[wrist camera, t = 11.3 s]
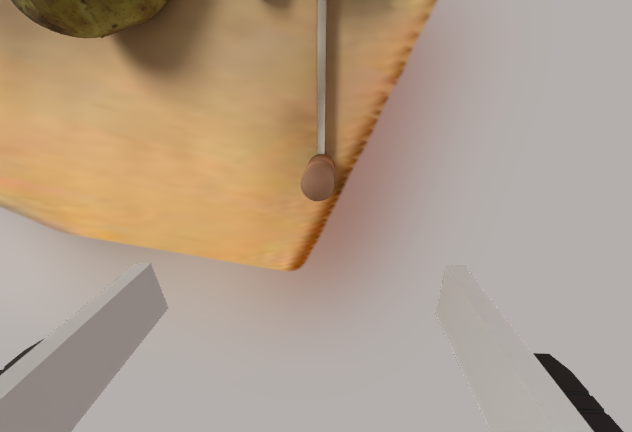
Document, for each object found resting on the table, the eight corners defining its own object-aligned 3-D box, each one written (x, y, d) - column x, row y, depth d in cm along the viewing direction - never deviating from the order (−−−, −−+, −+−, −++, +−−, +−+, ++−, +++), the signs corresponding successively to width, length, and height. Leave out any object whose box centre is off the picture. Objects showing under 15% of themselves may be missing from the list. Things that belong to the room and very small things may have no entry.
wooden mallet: (301, 179, 31) (292, 200, 25) (292, -118, 20) (273, -218, 14) (341, 180, 30) (343, 201, 24) (354, -122, 20) (363, -226, 14)
